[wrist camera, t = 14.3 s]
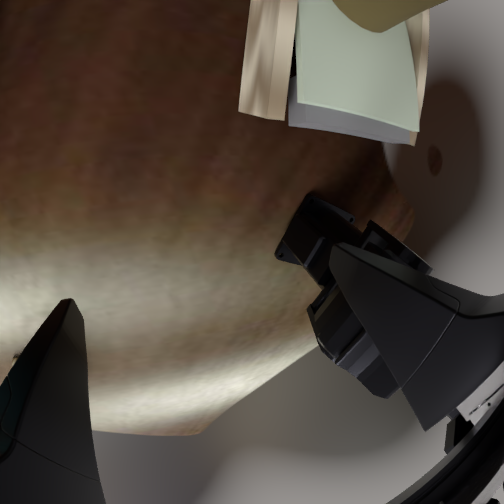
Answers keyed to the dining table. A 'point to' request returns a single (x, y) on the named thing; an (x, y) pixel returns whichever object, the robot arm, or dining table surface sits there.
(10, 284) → the dining table surface
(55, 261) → the dining table surface
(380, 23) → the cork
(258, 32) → the trapdoor frame
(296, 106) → the light piece
